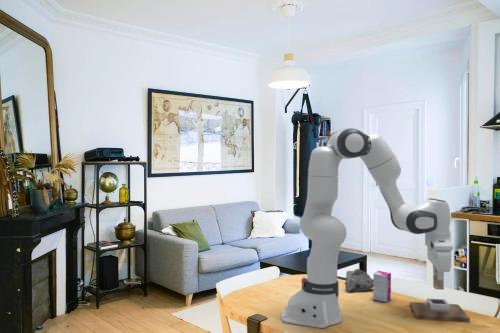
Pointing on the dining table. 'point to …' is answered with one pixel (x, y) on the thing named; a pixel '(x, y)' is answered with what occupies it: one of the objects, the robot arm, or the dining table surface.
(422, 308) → the walnut board
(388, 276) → the supplement box
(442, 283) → the birch stick
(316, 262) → the robot arm
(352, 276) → the mineral rock
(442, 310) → the gray square dish
